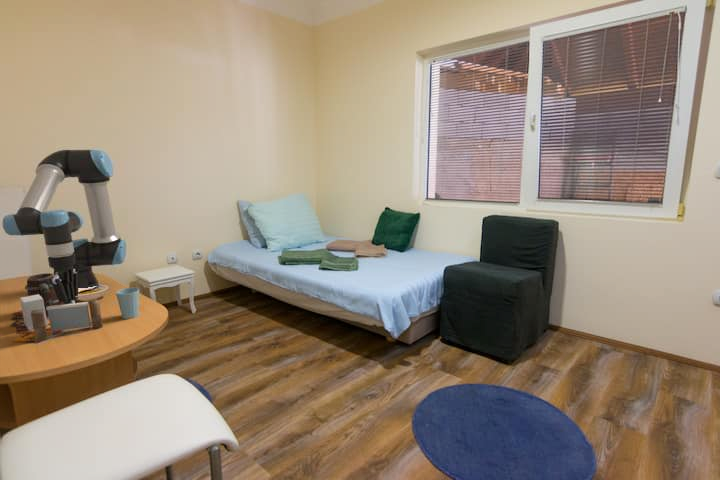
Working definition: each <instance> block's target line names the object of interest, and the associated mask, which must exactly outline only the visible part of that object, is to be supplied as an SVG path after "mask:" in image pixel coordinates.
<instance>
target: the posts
mask: <svg viewBox="0 0 720 480" xmlns="http://www.w3.org/2000/svg"><path fill="white" fill-rule="evenodd" d="M100 306H101V305H100V299H93V300H89V301H88V308H89V315H90V322H91V326H92V327H91V326H90V327H82V328H77V329H74V330H73V329H72V330H70V331H64V332H60V333H55V334H54V333H53V334H50V335H48V332H47V331H48V330H47V326H46V324H45V318H44V312H43V309H40V310H34V311H31V318H32V323H33V329H32V330H33V333H34V340H35V343H36V342H42V341H47V340H48V339H53V338H57V337H62V336H68V335H75V334H77V333H78V334H79V333H82V332H88V331H91V328H92V330H99V329H102V328H103V322H102V312H101V307H100Z"/></svg>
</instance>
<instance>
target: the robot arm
mask: <svg viewBox="0 0 720 480" xmlns="http://www.w3.org/2000/svg"><path fill="white" fill-rule="evenodd" d="M113 176H114V167H113V164H112V161H111V158H110V157H109V155H108V153H107V152H105V151H104V150H98V149H62V150H56V151H55V152H53V153H50V154H49V155H47V156H46V157H44V158H43V159H42V160H41V161H40V162H39V163H38V165H37V166H36V168H35V178H34V179H33V181H32V183H31V185H30V186H29V187H30V188H29V189H28V191H27V193H26V195H25V197H24V199H23V200H22V203H21V205H20V206H19V208H18V210H17V212H16V213H12V214H7V215H5V216H3V219H2V229H3V230H4V233H5V234H7V235H8V236H21V237H22V236H32V235H33V236H34V235H35V236H36V235H43V238H44V244H45V249H46V255H47V256H48V258H47V261H48V266H49V268H51V269H53V275H54V278H53V279H50V283H51V284H52V285H53V288H54V290H55V293H56V295H57V298H58V300H59V302H64V304H73V303H76V301H77V300H78V296H79V293H78V288H88V287H93V286H98V285H99V280H98V278H97V277H96V275H95V273H94V271H93V267H98V266H99V267H100V266H114V265H121V264H123V263H124V261H125V259H126V255H127V242H126V240H125V239H121V235H120V234H118V233H116V229H115V228H116V227H115V222H114V217H113V211H112V206H111V205H112V204H111V201H110V195H109V194H110V193H109V190H108V183H109V182H110V179H111V177H113ZM66 178H77V181H78V183H79V184H81V185H82V186H83V188H84V189H83V190H84V193H85V198H86V203H87V207H88V212H89V218H90V223H91V227H92V228H91V229H92V232H93V236H92V237H91V239H90V241H89V238H78V239H73V238H72V233H74V232H75V233H76V232H77V231H79V230H80V229H81V228H82V227H83V224H84V219H83V217H82V215H81V214H80V213H78V212H76V211H66V210H64V209H53V210H48V208H49V205H50V203H51V201H52V199H53V198H54V194H55V192H56V190H57V189H58V186H59V184H61V183H62V182H63V181H65V179H66ZM98 287H99V286H98Z"/></svg>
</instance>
